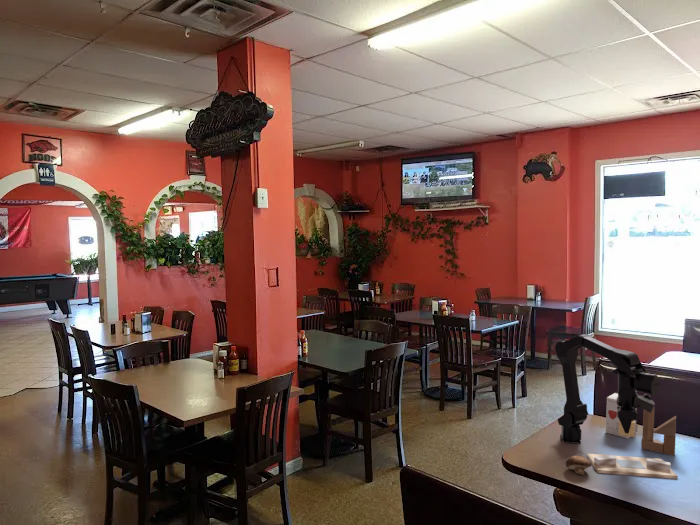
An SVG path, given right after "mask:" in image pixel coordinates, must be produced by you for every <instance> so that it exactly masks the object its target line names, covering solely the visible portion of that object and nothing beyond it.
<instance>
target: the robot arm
mask: <svg viewBox="0 0 700 525" xmlns="http://www.w3.org/2000/svg"><path fill="white" fill-rule="evenodd" d="M582 348H585V349H587V350H589V351H590V352H593V353H595V354H597V355H599V356H601V357H603V358H606V359H607V360H609V362H611V364H612V365H613V366H615V367H616V368H615V369H613V370H612V371H611V372H612V374H615V375H617V393H618V397H617V405H618V406H617V417H618V418H619V420H620V422H621V425H622V427H623V429H624V432H625V433H627V434H628V433H629V430H630V426H631V423H632V421H633V420H636V421H639V412H638V410H637V411H636V409H635V408H637V409H638V408H639V409H642V410H643V409H644V410H646V411H647V412H650V413H651V412H652V410H653V408H654V406H655V405H656V404H655V401H653V400H652V399H651V395H652V396H657V395H658V394H659V393H660V391H661V388H662V387H661V386H662V384H661V381H660V380H659V378H658V375H657V374H655V373H654V374H652V373H651V374H650V373H647V370H646V368H645V366H644V365H643V364H642V362H641V361H640V357H639V355H638V354H637V353H636V352H634V351H629V350H627V349H625V350H624V349H619V348H616V347H613V346H611V345H609V344H606V343H604V342H602V341H600V340H598V339H595V338H593V337H591V336H590V335H588V334H586V333H585V334H584V333H583V334H578V335H576V336H574V337H572V338H570V339H567V340H560V341H558V342H557V343H555V345H554V350H555V354H556V357H557V359H558V360H559V362H560V363H561V368H562V376H563V383H564V384H563V385H564V389H565V397H566V401H565V404H564V406H563V415H561V416H560V417H559V418H557V424H558V425H559V426H561V433H560V435H559V436H560V438H561V440H562V442H563V443H570V444H572V443H573V444H581V443H582V429H581V425H582V426H583V424H584V422H585V421H586V420H587V419H588V415H589V411H588V404H587V403H583V402H582V400H581V397H580V388H579V381H578V376H577V368H576V367H577V366H576V361H577V359H578V356H579V349H582ZM638 392H640V393H643V395H640V394H638ZM654 409H655V408H654Z"/></svg>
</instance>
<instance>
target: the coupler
mask: <svg viewBox="0 0 700 525" xmlns="http://www.w3.org/2000/svg"><path fill="white" fill-rule="evenodd" d="M616 429H619V435H624V436H631V437H633V438H635V437H636V433H637V432H638V424H636V425H635V420H633V421H632V423H631V426H630V430H629V433H628V434H627V433H625V432H624V429H623V427H622V425H621V422H620V420H619V422H616ZM635 432H636V433H635ZM631 437H630V438H631Z"/></svg>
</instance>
